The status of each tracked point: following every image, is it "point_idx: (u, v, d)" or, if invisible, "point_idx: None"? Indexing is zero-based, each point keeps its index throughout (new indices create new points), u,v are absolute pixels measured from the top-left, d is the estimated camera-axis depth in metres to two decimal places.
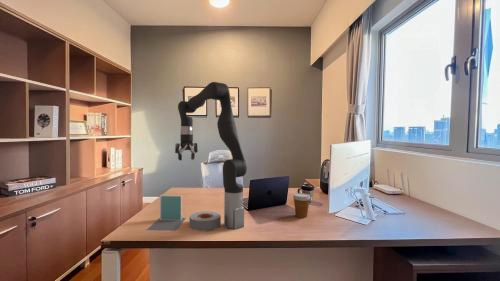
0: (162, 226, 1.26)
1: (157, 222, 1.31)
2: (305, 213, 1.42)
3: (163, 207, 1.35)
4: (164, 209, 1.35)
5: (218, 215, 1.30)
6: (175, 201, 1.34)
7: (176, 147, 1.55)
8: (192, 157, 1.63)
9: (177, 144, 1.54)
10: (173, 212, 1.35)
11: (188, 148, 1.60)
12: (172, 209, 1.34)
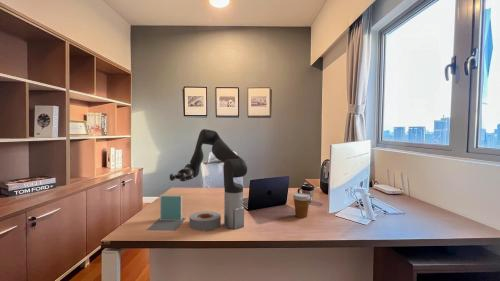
0: (162, 226, 1.26)
1: (157, 222, 1.31)
2: (305, 213, 1.42)
3: (163, 207, 1.35)
4: (164, 209, 1.35)
5: (218, 215, 1.30)
6: (175, 201, 1.34)
7: None
8: (182, 178, 1.47)
9: (170, 174, 1.55)
10: (173, 212, 1.35)
11: (181, 174, 1.53)
12: (172, 209, 1.34)
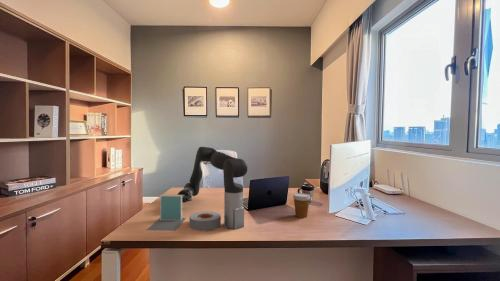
0: (162, 226, 1.26)
1: (157, 222, 1.31)
2: (305, 213, 1.42)
3: (163, 207, 1.35)
4: (164, 209, 1.35)
5: (218, 215, 1.30)
6: (175, 201, 1.34)
7: None
8: None
9: None
10: (173, 212, 1.35)
11: None
12: (172, 209, 1.34)
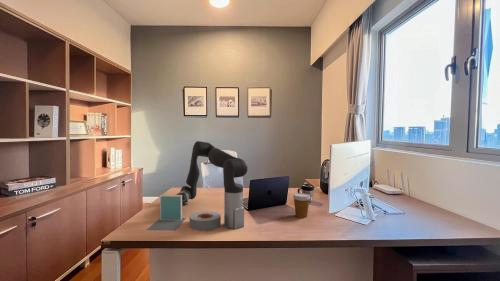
0: (162, 226, 1.26)
1: (157, 222, 1.31)
2: (305, 213, 1.42)
3: (163, 207, 1.34)
4: (164, 209, 1.34)
5: (218, 215, 1.30)
6: (175, 201, 1.34)
7: None
8: None
9: None
10: (173, 212, 1.34)
11: None
12: (172, 209, 1.34)
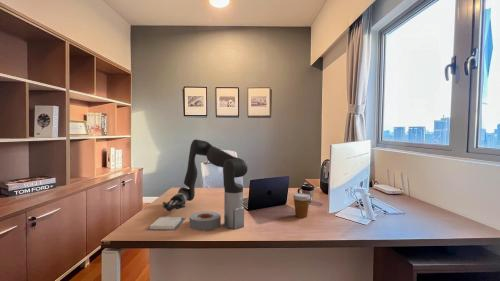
0: None
1: None
2: (305, 213, 1.42)
3: None
4: None
5: (218, 215, 1.30)
6: None
7: (164, 205, 1.39)
8: None
9: None
10: None
11: (173, 202, 1.41)
12: None
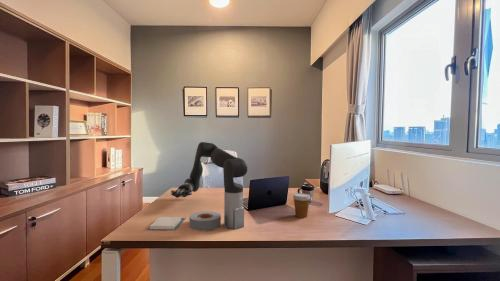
0: None
1: None
2: (305, 213, 1.42)
3: None
4: None
5: (218, 215, 1.30)
6: None
7: (172, 193, 1.52)
8: None
9: (171, 190, 1.53)
10: None
11: None
12: None
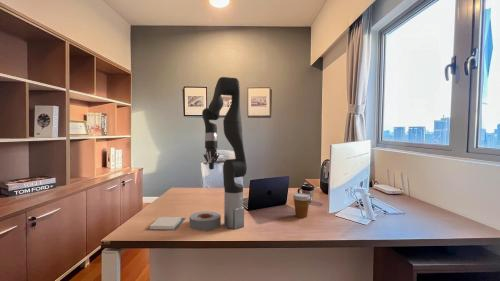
0: None
1: None
2: (305, 213, 1.42)
3: None
4: None
5: (218, 215, 1.30)
6: None
7: None
8: None
9: None
10: None
11: (209, 154, 1.56)
12: None
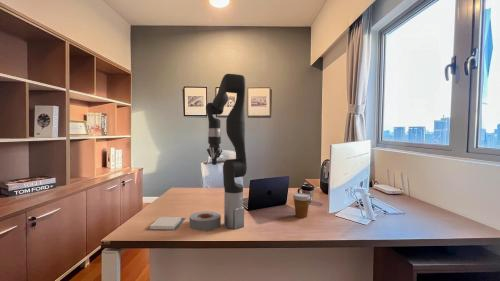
0: None
1: None
2: (305, 213, 1.42)
3: None
4: None
5: (218, 215, 1.30)
6: None
7: None
8: None
9: (207, 150, 1.60)
10: None
11: None
12: None
